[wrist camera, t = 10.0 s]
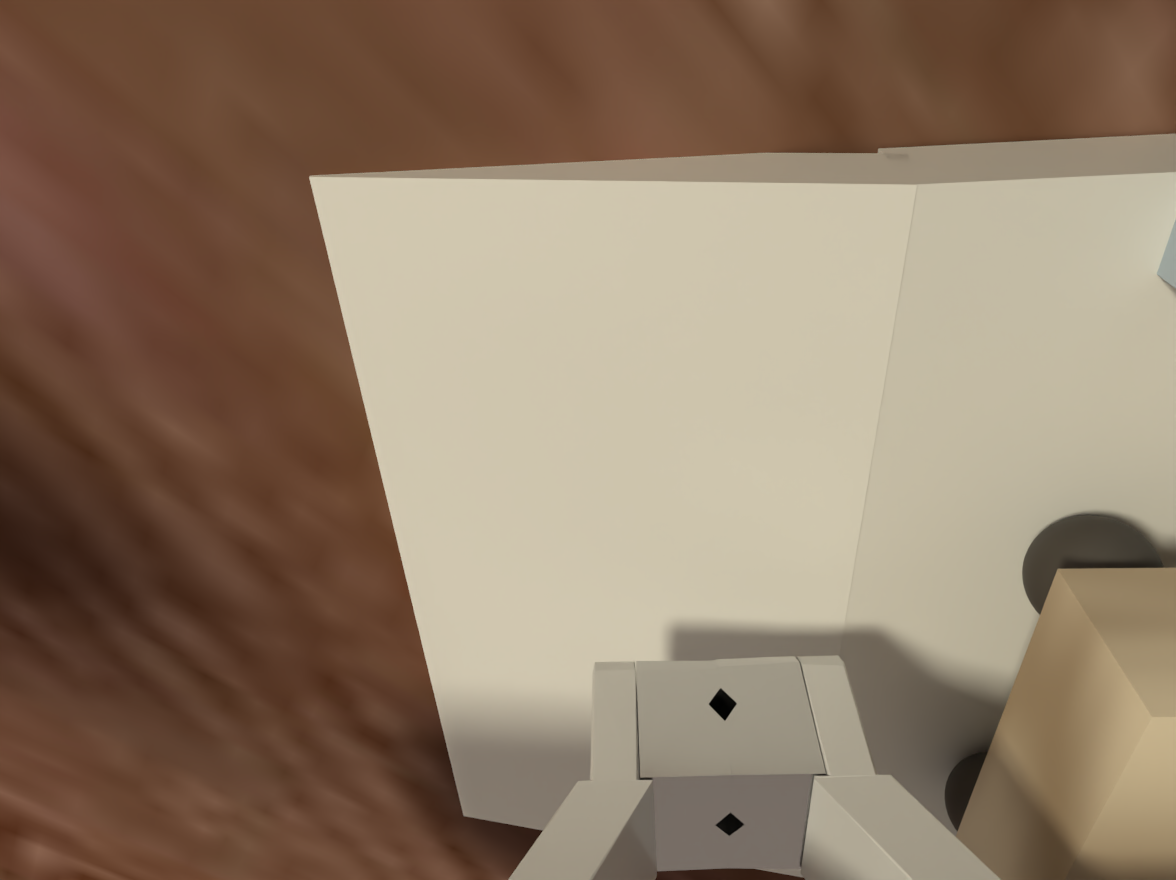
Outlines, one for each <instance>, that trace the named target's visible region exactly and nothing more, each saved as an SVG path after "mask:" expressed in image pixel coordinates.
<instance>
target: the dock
mask: <svg viewBox="0 0 1176 880" xmlns="http://www.w3.org/2000/svg"><path fill="white" fill-rule="evenodd" d="M309 178H310V182H311V186H312V191H313V195H314V199H315V203H316V207H317V211H318V215H319V220H320V224H321V228H322V232H323V236H324V240H325V244H326V248H327V253H328V257H329V261H330V265H331V269H332V273H333V277H334V282H335V286H336V290H337V294H338V298H339V302H340V306H341V311H342V315H343V319H344V323H345V327H346V331H347V335H348V340H349V344H350V348H351V352H352V356H353V360H354V364H355V369H356V373H357V377H358V381H359V385H360V389H361V393H362V398H363V402H364V406H365V410H366V414H367V418H368V422H369V427H370V431H371V435H372V439H373V443H374V447H375V451H376V455H377V460H378V464H379V468H380V472H381V476H382V480H383V484H384V489H385V493H386V497H387V501H388V505H389V509H390V513H391V518H392V522H393V526H394V530H395V534H396V538H397V542H398V547H399V551H400V555H401V559H402V563H403V567H404V571H405V576H406V580H407V584H408V588H409V592H410V596H411V600H412V605H413V609H414V613H415V617H416V621H417V625H418V629H419V634H420V638H421V642H422V646H423V650H424V654H425V658H426V662H427V667H428V671H429V675H430V679H431V683H432V687H433V691H434V696H435V700H436V704H437V708H438V712H439V716H440V720H441V725H442V729H443V733H444V737H445V741H446V745H447V749H448V754H449V758H450V762H451V766H452V770H453V774H454V778H455V783H456V787H457V791H458V795H459V799H460V803H461V807H462V812H463V816H466V817H472V818H477V819H483V820H488V821H494V822H499V823H505V824H510V825H516V826H521V827H527V828H532V829H538V830H544V828H545V827H546V826H547V824H548V823H549V821H550V820H551V819H552V817H553V816H554V814H555V813H556V812H557V810H558V809H559V807H560V806H561V805H562V803H563V802H564V800H565V799H566V797H567V796H568V795H569V793H570V792H571V790H572V789H573V788H574V786H575V785H576V783H577V782H578V781H590V770H591V723H592V676H593V669H594V664H595V662H622V661H635V668H636V661H715V659H736V658H760V657H784V656H795V658H797V657H803V656H836V655H839V657H840V658H841V659H842V660H843V662H844V664H845V667H846V671H847V674H848V677H849V681H850V684H851V687H852V691H853V694H854V697H855V701H856V704H857V707H858V711H859V714H860V717H861V721H862V724H863V727H864V731H865V734H866V737H867V741H868V744H869V747H870V751H871V754H872V757H873V761H874V764H875V767H876V771H877V774H880V775H892V776H893V777H894V778H895V779H896V780H897V781H898V782H899V783H900V784H901V785H902V786H903V787H904V788H905V789H906V790H907V791H908V792H909V793H911V794H912V795H913V796H914V797H915V798H916V799H917V800H918V801H919V802H920V803H921V804H922V805H923V806H924V807H925V808H926V809H927V810H928V811H929V812H931V813H932V814H933V815H934V816H935V817H936V818H937V819H938V820H939V821H940V822H941V823H942V824H943V825H944V826H945V827H946V828H947V829H948V830H949V831H951V832H952V833H953V834H954V835H955V836H956V834H957V831H956V829H955V828H954V826H953V824H952V823H951V821H950V818H949V816H948V813H947V810H946V806H945V786H946V782H947V779H948V777H949V774H950V773H951V771H952V770H953V768H954V767H955V766H956V765H957V764H958V763H959V762H960V761H961V760H963V759H964V758H966V757H968V756H970V755H972V754H975V753H979V752H988V750H989V748H990V745H991V742H992V740H993V737H994V735H995V732H996V729H997V727H998V724H999V721H1000V719H1001V716H1002V714H1003V711H1004V708H1005V706H1006V703H1007V700H1008V698H1009V695H1010V693H1011V690H1012V687H1013V685H1014V682H1015V679H1016V677H1017V674H1018V672H1019V669H1020V666H1021V664H1022V661H1023V658H1024V656H1025V653H1026V651H1027V648H1028V645H1029V643H1030V640H1031V637H1032V635H1033V632H1034V630H1035V627H1036V624H1037V622H1038V619H1039V616H1040V615H1039V614H1038V613H1037V612H1036V610H1035V609H1034V607H1033V606H1032V604H1031V603H1030V601H1029V599H1028V597H1027V595H1026V592H1025V589H1024V585H1023V579H1022V567H1023V561H1024V557H1025V555H1026V552H1027V550H1028V548H1029V546H1030V545H1031V543H1032V542H1033V540H1034V539H1035V538H1036V537H1037V536H1038V535H1039V534H1040V533H1041V532H1042V531H1043V530H1044V529H1046V528H1047V527H1049V526H1050V525H1052V524H1054V523H1056V522H1058V521H1061V520H1064V519H1067V518H1071V517H1076V516H1100V517H1106V518H1110V519H1114V520H1116V521H1119V522H1122V523H1124V524H1126V525H1128V526H1130V527H1132V528H1133V529H1135V530H1136V531H1138V532H1139V533H1140V534H1142V535H1143V536H1144V537H1145V538H1146V539H1147V540H1148V541H1149V542H1150V543H1151V544H1152V546H1153V547H1154V548H1155V550H1156V551H1157V553H1158V554H1159V556H1160V559H1161V561H1162V563H1163V565H1164V568H1176V134H1159V135H1139V136H1119V137H1099V138H1079V139H1059V140H1039V141H1019V142H999V143H979V144H959V145H939V146H919V147H899V148H879V149H878V153H752V154H732V155H712V156H692V157H672V158H652V159H632V160H612V161H592V162H572V163H552V164H532V165H512V166H493V167H473V168H453V169H433V170H413V171H393V172H373V173H353V174H333V175H313V176H310V177H309ZM636 684H637V681H636ZM759 870H764V871H770V872H775V873H781V874H786V875H792V876H797V877H803V876H802V874H801V869H759Z"/></svg>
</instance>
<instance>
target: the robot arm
mask: <svg viewBox="0 0 1176 880" xmlns="http://www.w3.org/2000/svg"><path fill="white" fill-rule="evenodd" d="M636 681H637V684H636ZM723 868H741V869H801V874H802V876H803V877H804V878H805V880H1001V879H1000V878H999V877H998V876H997V875H996V874H995V873H994V872H993V871H992V870H991V869H989V868H988V867H987V866H986V865H985V864H984V863H983V862H982V861H981V860H980V859H979V858H978V857H977V856H976V855H975V854H974V853H973V852H972V851H971V850H969V849H968V848H967V847H966V846H965V845H964V844H963V843H962V842H961V841H960V840H959V839H958V838H957V837H956V836H955V835H954V834H953V833H952V832H951V831H949V830H948V829H947V828H946V827H945V826H944V825H943V824H942V823H941V822H940V821H939V820H938V819H937V818H936V817H935V816H934V815H933V814H932V813H931V812H929V811H928V810H927V809H926V808H925V807H924V806H923V805H922V804H921V803H920V802H919V801H918V800H917V799H916V798H915V797H914V796H913V795H912V794H911V793H909V792H908V791H907V790H906V789H905V788H904V787H903V786H902V785H901V784H900V783H899V782H898V781H897V780H896V779H895V778H894V777H893V776H892V775H880V774H877V771H876V767H875V764H874V761H873V757H872V754H871V751H870V747H869V744H868V741H867V737H866V734H865V731H864V727H863V724H862V721H861V717H860V714H859V711H858V707H857V704H856V701H855V697H854V694H853V691H852V687H851V684H850V681H849V677H848V674H847V671H846V667H845V664H844V662H843V660H842V659H841V658H840V657H839V655H836V656H803V657H797V658H795V656H784V657H760V658H736V659H715V661H636V668H635V661H622V662H595V664H594V669H593V676H592V723H591V770H590V781H578V782H577V783H576V785H575V786H574V788H573V789H572V790H571V792H570V793H569V795H568V796H567V797H566V799H565V800H564V802H563V803H562V805H561V806H560V807H559V809H558V810H557V812H556V813H555V814H554V816H553V817H552V819H551V820H550V821H549V823H548V824H547V826H546V827H545V828H544V830H543V831H542V833H541V834H540V835H539V837H538V838H537V840H536V841H535V842H534V844H533V845H532V847H531V848H530V850H529V851H528V852H527V854H526V855H525V857H524V858H523V859H522V861H521V862H520V864H519V865H518V866H517V868H516V869H515V871H514V872H513V873H512V875H511V876H510V878H509V879H508V880H655V879H656V877H657V871H677V870H700V869H723Z"/></svg>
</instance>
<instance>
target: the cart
mask: <svg viewBox="0 0 1176 880" xmlns="http://www.w3.org/2000/svg"><path fill="white" fill-rule="evenodd" d="M1022 579H1023V585H1024V589H1025V592H1026V595H1027V597H1028V599H1029V601H1030V603H1031V604H1032V606H1033V607H1034V609H1035V610H1036V612H1037V613H1038V614H1039V615H1040V616H1039V619H1038V622H1037V624H1036V627H1035V630H1034V632H1033V635H1032V637H1031V640H1030V643H1029V645H1028V648H1027V651H1026V653H1025V656H1024V658H1023V661H1022V664H1021V666H1020V669H1019V672H1018V674H1017V677H1016V679H1015V682H1014V685H1013V687H1012V690H1011V693H1010V695H1009V698H1008V700H1007V703H1006V706H1005V708H1004V711H1003V714H1002V716H1001V719H1000V721H999V724H998V727H997V729H996V732H995V735H994V737H993V740H992V742H991V745H990V748H989V750H988V752H979V753H975V754H972V755H970V756H968V757H966V758H964V759H963V760H961V761H960V762H959V763H958V764H957V765H956V766H955V767H954V768H953V770H952V771H951V773H950V774H949V777H948V779H947V782H946V786H945V806H946V810H947V813H948V816H949V818H950V821H951V823H952V824H953V826H954V828H955V829H956V831H957V834H956V837H957V838H958V839H959V840H960V841H961V842H962V843H963V844H964V845H965V846H966V847H967V848H968V849H969V850H971V851H972V852H973V853H974V854H975V855H976V856H977V857H978V858H979V859H980V860H981V861H982V862H983V863H984V864H985V865H986V866H987V867H988V868H989V869H991V870H992V871H993V872H994V873H995V874H996V875H997V876H998V877H999V878H1000V879H1001V880H1176V568H1164V565H1163V563H1162V561H1161V559H1160V556H1159V554H1158V553H1157V551H1156V550H1155V548H1154V547H1153V546H1152V544H1151V543H1150V542H1149V541H1148V540H1147V539H1146V538H1145V537H1144V536H1143V535H1142V534H1140V533H1139V532H1138V531H1136V530H1135V529H1133V528H1132V527H1130V526H1128V525H1126V524H1124V523H1122V522H1119V521H1116V520H1114V519H1110V518H1106V517H1100V516H1076V517H1071V518H1067V519H1064V520H1061V521H1058V522H1056V523H1054V524H1052V525H1050V526H1049V527H1047V528H1046V529H1044V530H1043V531H1042V532H1041V533H1040V534H1039V535H1038V536H1037V537H1036V538H1035V539H1034V540H1033V542H1032V543H1031V545H1030V546H1029V548H1028V550H1027V552H1026V555H1025V557H1024V561H1023V567H1022Z"/></svg>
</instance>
